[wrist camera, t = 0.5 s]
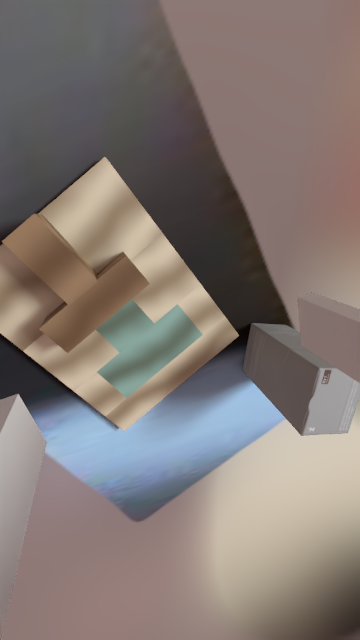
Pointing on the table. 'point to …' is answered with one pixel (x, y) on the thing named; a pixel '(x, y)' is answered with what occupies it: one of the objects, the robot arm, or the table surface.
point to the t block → (74, 281)
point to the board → (131, 320)
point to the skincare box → (299, 381)
